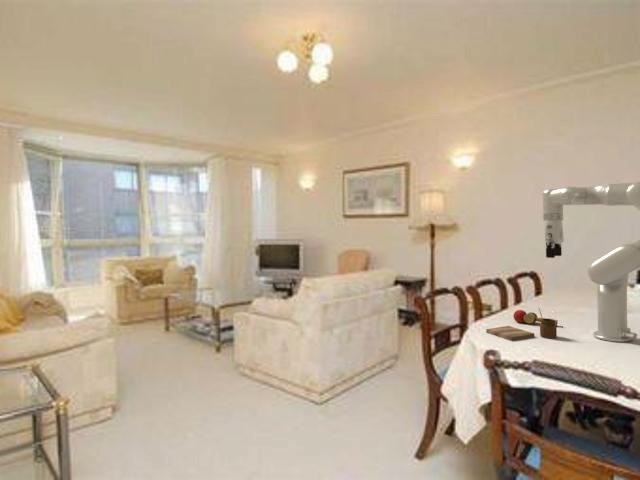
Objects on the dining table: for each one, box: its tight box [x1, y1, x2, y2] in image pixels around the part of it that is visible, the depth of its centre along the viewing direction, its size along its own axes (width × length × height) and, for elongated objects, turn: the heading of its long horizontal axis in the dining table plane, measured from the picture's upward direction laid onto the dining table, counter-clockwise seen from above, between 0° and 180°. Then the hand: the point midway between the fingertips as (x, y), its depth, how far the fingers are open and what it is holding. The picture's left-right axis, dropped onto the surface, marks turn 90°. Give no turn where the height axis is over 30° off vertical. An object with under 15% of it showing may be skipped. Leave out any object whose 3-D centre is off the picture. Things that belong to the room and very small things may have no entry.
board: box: [485, 325, 535, 342], centre depth 170 cm, size 14×12×2 cm
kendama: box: [512, 309, 558, 327], centre depth 186 cm, size 8×6×18 cm
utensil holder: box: [538, 306, 558, 339], centre depth 165 cm, size 6×6×12 cm
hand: (553, 256), depth 176 cm, fingers open, 9 cm apart
